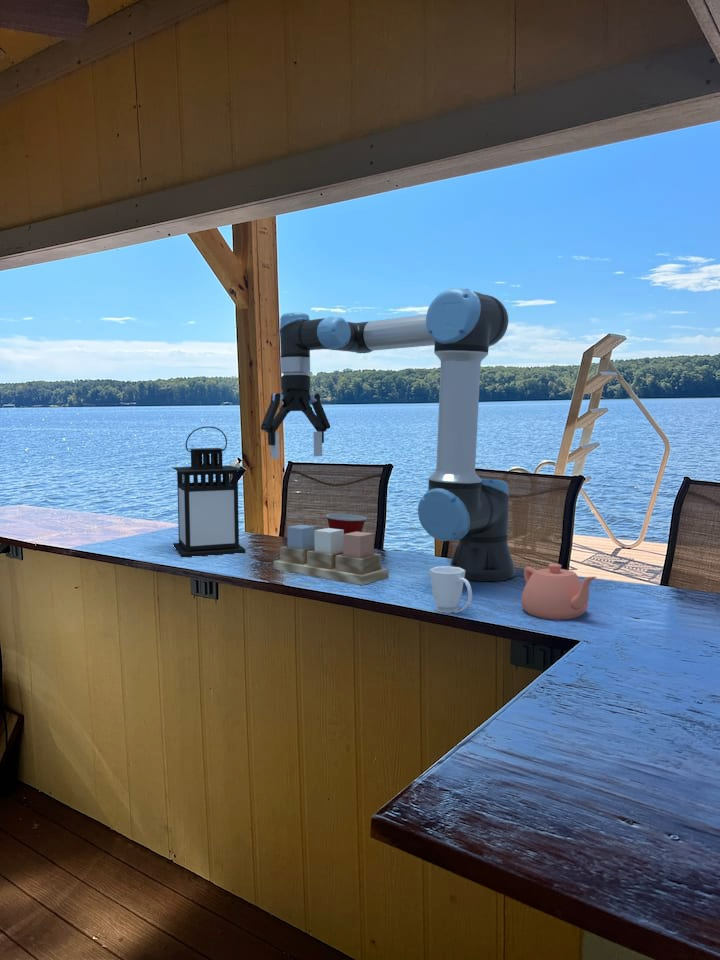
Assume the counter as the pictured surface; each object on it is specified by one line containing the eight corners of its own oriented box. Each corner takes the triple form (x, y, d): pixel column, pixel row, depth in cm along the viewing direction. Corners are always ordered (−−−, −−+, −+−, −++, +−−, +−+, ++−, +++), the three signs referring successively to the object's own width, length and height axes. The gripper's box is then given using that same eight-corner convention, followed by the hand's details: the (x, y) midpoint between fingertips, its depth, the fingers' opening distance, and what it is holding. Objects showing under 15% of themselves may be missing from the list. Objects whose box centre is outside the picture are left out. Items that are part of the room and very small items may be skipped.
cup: (447, 603, 149) (447, 564, 148) (483, 614, 141) (484, 572, 140) (421, 609, 145) (421, 568, 144) (457, 620, 137) (457, 577, 136)
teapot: (545, 599, 153) (546, 554, 152) (616, 620, 137) (617, 569, 136) (501, 607, 146) (502, 560, 145) (570, 630, 131) (572, 577, 130)
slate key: (316, 550, 183) (315, 526, 183) (302, 553, 179) (302, 528, 179) (301, 547, 186) (301, 524, 186) (287, 550, 183) (287, 526, 182)
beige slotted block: (388, 577, 173) (388, 554, 172) (362, 585, 165) (362, 561, 165) (301, 562, 190) (300, 541, 190) (273, 569, 183) (273, 547, 182)
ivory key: (343, 554, 178) (343, 529, 177) (330, 557, 174) (330, 532, 173) (328, 552, 181) (328, 527, 180) (314, 555, 177) (314, 530, 176)
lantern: (232, 543, 220) (230, 425, 216) (245, 553, 204) (243, 426, 200) (173, 547, 213) (170, 426, 210) (181, 557, 197) (178, 427, 194)
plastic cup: (372, 562, 190) (372, 516, 189) (331, 565, 187) (331, 518, 186) (360, 555, 200) (360, 511, 199) (321, 557, 198) (321, 512, 196)
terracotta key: (373, 558, 172) (373, 533, 172) (360, 562, 168) (360, 536, 168) (356, 556, 175) (356, 531, 175) (343, 559, 171) (343, 534, 171)
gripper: (325, 376, 200) (326, 454, 202) (245, 374, 184) (247, 458, 186) (342, 375, 194) (343, 455, 196) (262, 372, 178) (264, 459, 180)
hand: (296, 457), depth 191 cm, fingers open, 13 cm apart
